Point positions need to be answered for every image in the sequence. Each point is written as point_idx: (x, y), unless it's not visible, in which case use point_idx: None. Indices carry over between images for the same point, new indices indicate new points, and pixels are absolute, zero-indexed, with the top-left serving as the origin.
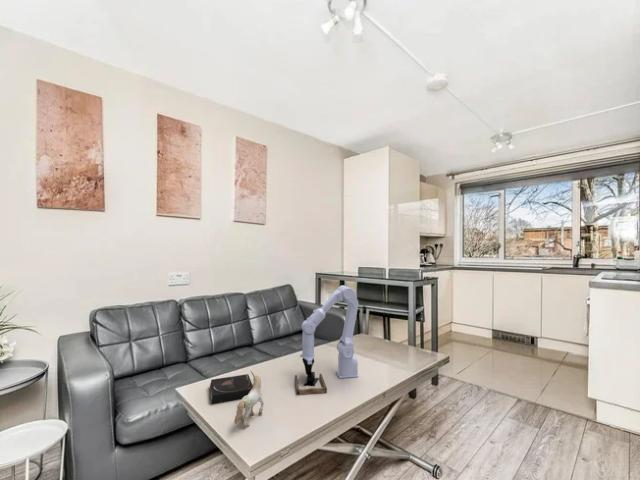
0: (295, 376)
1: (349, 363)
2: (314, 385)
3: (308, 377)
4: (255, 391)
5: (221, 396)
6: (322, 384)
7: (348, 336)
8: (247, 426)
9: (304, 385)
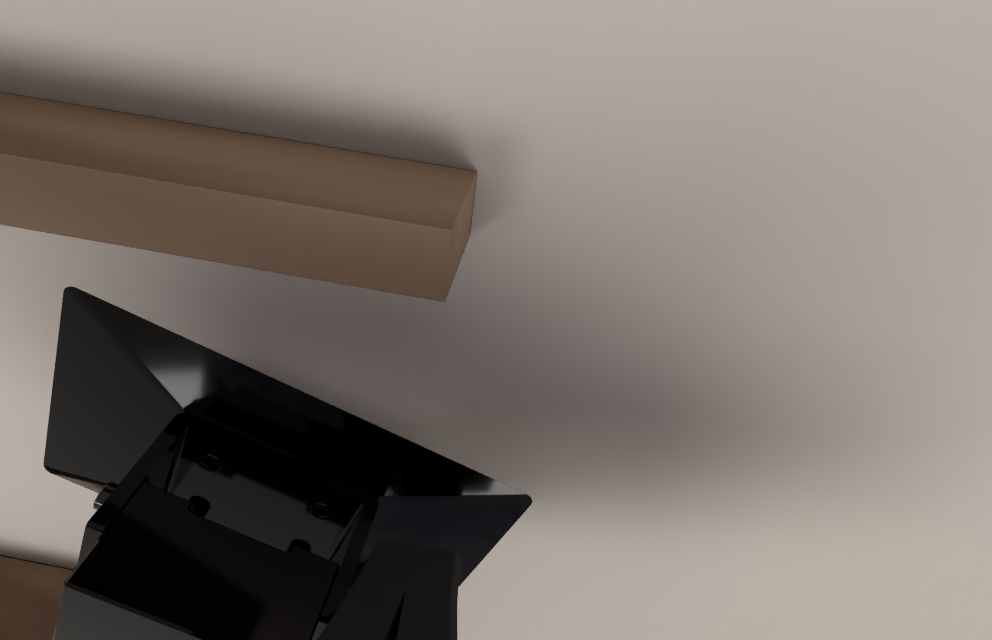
0: (331, 226)
1: None
2: (86, 484)
3: (93, 532)
4: None
5: None
6: (3, 603)
7: None
8: None
9: (72, 317)
